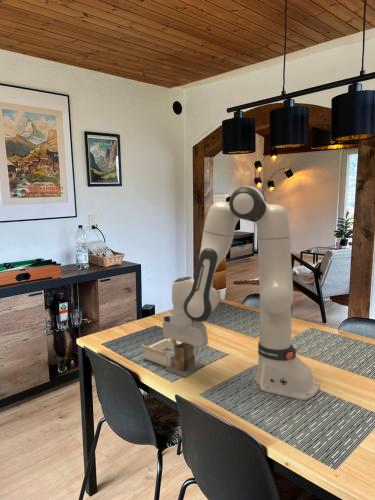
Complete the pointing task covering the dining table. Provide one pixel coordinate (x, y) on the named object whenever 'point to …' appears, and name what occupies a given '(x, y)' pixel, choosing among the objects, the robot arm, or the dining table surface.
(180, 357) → the walnut block
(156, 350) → the carton
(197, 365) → the slate mat
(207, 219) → the robot arm
